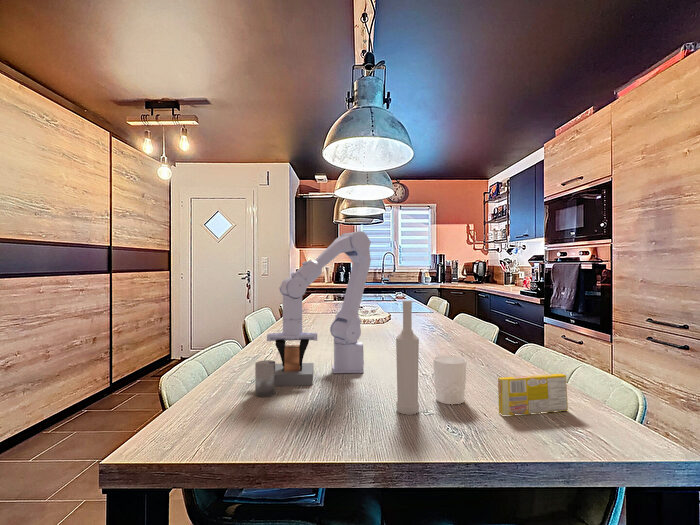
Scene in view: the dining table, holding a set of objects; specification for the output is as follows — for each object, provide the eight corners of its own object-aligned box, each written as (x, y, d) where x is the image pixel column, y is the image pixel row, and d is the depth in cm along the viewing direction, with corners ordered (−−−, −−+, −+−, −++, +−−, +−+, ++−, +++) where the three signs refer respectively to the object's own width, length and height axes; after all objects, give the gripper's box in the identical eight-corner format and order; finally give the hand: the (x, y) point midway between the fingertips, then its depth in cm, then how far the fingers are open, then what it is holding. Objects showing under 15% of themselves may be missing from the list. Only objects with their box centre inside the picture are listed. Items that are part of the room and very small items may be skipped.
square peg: (300, 371, 109) (300, 344, 109) (299, 375, 105) (299, 347, 105) (285, 372, 109) (285, 345, 109) (284, 376, 105) (284, 348, 105)
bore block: (313, 372, 113) (313, 362, 113) (312, 385, 101) (312, 374, 101) (274, 373, 112) (274, 363, 112) (268, 386, 100) (268, 375, 101)
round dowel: (276, 390, 97) (276, 360, 97) (273, 396, 92) (273, 365, 92) (257, 390, 97) (257, 360, 97) (253, 397, 92) (253, 365, 92)
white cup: (468, 397, 92) (468, 357, 92) (464, 408, 85) (464, 364, 85) (437, 392, 95) (436, 354, 95) (430, 402, 88) (430, 361, 88)
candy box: (561, 408, 85) (561, 372, 85) (568, 412, 83) (568, 375, 83) (497, 413, 82) (497, 376, 82) (503, 417, 80) (502, 379, 80)
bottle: (420, 408, 85) (420, 300, 85) (417, 416, 80) (416, 302, 80) (398, 405, 86) (398, 299, 87) (393, 413, 82) (393, 301, 82)
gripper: (265, 321, 103) (265, 369, 102) (317, 320, 104) (317, 368, 104) (268, 317, 110) (268, 363, 109) (317, 317, 111) (317, 362, 111)
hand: (292, 365), depth 107 cm, fingers closed on square peg, 4 cm apart
